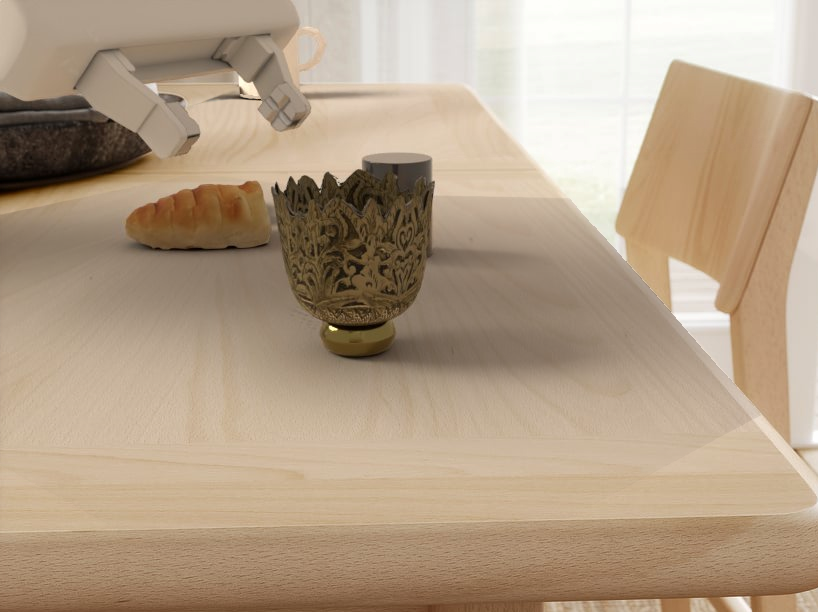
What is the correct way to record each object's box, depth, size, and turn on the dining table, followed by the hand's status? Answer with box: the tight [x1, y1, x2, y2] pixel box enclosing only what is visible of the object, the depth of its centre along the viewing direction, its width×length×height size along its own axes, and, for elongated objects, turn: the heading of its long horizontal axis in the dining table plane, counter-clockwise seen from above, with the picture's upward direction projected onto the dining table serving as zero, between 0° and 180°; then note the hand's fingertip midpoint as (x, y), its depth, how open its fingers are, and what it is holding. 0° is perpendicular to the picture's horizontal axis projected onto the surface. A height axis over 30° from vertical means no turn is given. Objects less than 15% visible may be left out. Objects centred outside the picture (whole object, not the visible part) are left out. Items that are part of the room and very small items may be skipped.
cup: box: [270, 168, 436, 357], centre depth 55 cm, size 8×7×8 cm
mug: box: [238, 26, 328, 96], centre depth 158 cm, size 8×12×10 cm
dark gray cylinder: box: [361, 151, 434, 258], centre depth 74 cm, size 4×4×6 cm
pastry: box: [125, 180, 272, 251], centre depth 77 cm, size 9×7×4 cm
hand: (244, 134), depth 55 cm, fingers open, 8 cm apart
